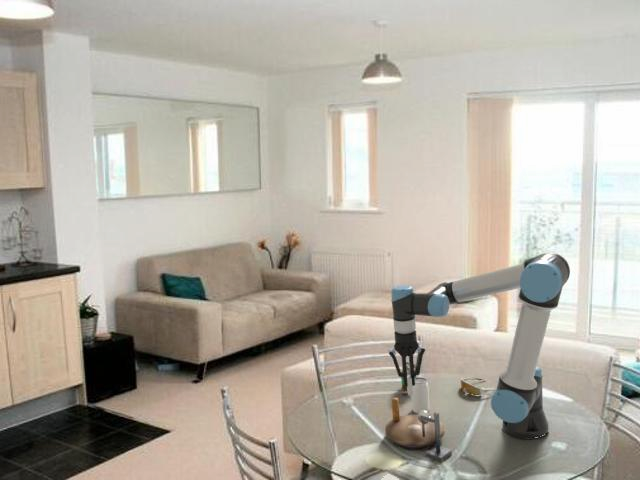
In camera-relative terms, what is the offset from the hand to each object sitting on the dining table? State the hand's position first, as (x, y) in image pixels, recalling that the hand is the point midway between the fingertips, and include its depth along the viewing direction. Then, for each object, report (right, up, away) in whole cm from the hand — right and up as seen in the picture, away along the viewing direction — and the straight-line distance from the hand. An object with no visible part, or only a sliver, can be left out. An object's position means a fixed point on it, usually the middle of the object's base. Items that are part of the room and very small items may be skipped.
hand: (410, 394), depth 229 cm
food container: (+5, -7, +34) cm, 35 cm away
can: (+6, -10, +15) cm, 19 cm away
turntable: (+1, -11, -6) cm, 13 cm away
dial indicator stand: (+5, -15, -17) cm, 23 cm away
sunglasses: (+32, -6, +30) cm, 44 cm away
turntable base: (+1, -14, -6) cm, 15 cm away
